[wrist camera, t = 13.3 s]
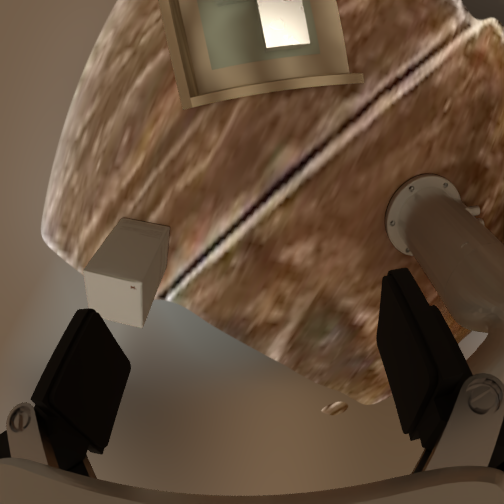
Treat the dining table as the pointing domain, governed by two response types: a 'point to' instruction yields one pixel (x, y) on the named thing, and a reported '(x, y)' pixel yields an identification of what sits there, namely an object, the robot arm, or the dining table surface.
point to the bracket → (279, 23)
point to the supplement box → (127, 271)
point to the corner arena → (249, 51)
